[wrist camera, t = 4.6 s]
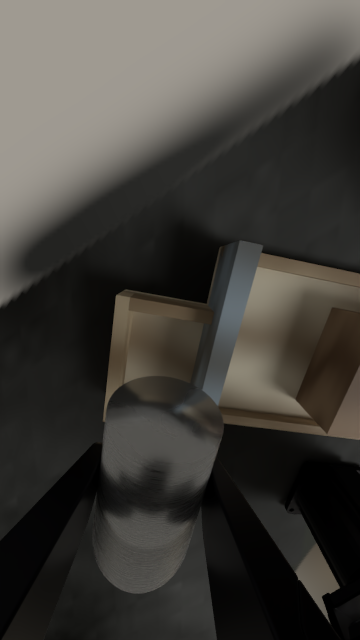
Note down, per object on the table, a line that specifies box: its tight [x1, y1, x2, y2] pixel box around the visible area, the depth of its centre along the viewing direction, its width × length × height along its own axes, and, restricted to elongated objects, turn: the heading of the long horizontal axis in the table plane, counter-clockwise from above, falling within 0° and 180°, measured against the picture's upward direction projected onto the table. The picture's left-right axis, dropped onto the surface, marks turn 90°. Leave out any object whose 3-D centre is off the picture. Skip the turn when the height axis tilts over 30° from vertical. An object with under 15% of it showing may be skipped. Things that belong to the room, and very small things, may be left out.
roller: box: [92, 376, 224, 593], centre depth 7 cm, size 4×5×4 cm
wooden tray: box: [103, 240, 360, 440], centre depth 14 cm, size 13×22×4 cm, turn 79°
